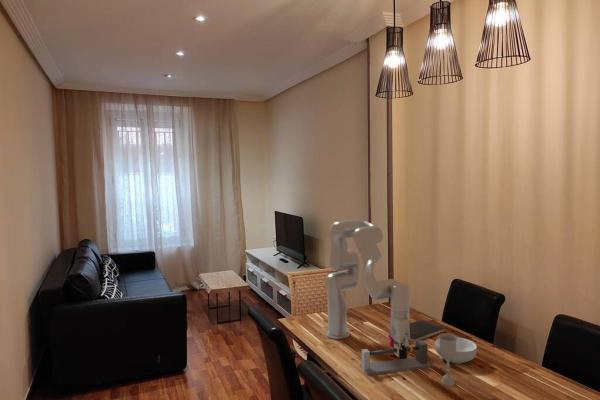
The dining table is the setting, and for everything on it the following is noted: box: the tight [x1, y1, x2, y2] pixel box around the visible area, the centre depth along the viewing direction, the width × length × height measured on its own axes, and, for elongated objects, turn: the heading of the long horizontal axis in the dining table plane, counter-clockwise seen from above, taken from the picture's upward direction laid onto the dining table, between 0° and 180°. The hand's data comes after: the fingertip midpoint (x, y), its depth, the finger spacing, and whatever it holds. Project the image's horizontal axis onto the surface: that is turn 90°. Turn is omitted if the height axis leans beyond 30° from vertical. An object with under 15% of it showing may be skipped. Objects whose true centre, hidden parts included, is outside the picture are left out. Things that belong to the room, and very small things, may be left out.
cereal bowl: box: [434, 336, 478, 365], centre depth 181 cm, size 17×17×7 cm
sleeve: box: [393, 343, 404, 358], centre depth 175 cm, size 4×4×4 cm
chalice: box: [438, 332, 458, 387], centre depth 161 cm, size 7×7×18 cm
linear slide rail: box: [359, 339, 432, 376], centre depth 175 cm, size 8×28×9 cm, turn 102°
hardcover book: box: [409, 319, 446, 343], centre depth 213 cm, size 16×23×2 cm
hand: (400, 355), depth 175 cm, fingers closed on sleeve, 4 cm apart
